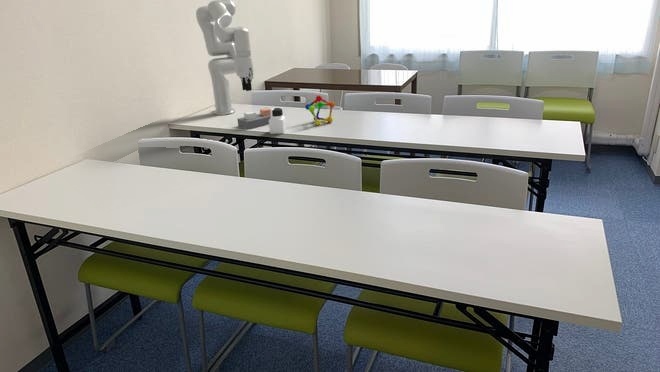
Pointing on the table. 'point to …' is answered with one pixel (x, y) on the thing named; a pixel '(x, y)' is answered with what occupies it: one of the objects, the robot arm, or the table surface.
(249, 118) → the grey button
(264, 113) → the terracotta button
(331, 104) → the educational toy
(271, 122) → the medicine bottle
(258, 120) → the console
